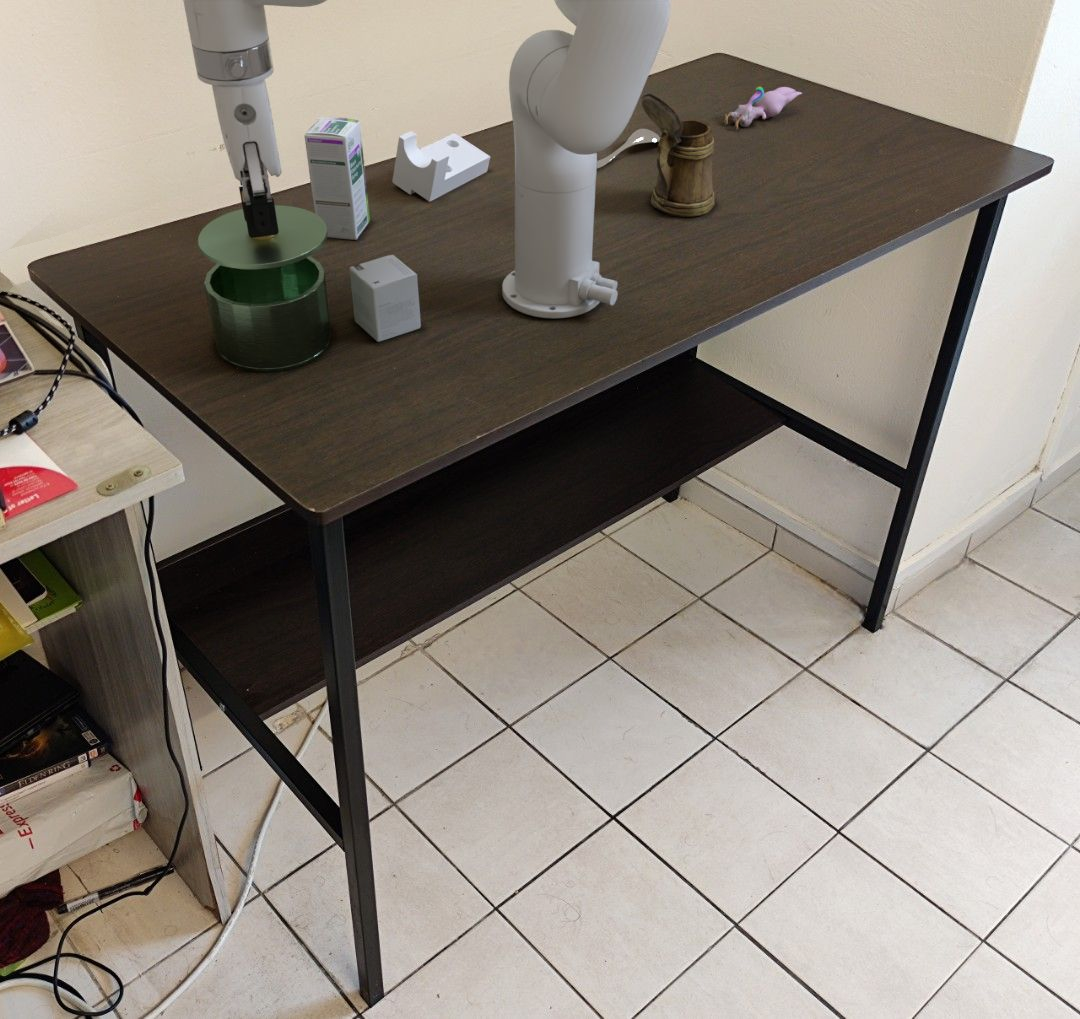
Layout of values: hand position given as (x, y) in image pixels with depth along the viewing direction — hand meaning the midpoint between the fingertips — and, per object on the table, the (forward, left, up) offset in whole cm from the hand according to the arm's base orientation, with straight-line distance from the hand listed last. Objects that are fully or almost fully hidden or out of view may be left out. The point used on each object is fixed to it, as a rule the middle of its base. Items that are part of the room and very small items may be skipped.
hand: (261, 225), depth 130 cm
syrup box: (+11, -27, -15) cm, 32 cm away
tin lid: (0, 0, -2) cm, 2 cm away
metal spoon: (-9, -67, -15) cm, 69 cm away
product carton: (-9, -10, -15) cm, 20 cm away
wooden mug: (-24, -57, -15) cm, 63 cm away
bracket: (+8, -47, -15) cm, 50 cm away
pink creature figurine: (-22, -95, -15) cm, 98 cm away
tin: (0, 0, -15) cm, 15 cm away
